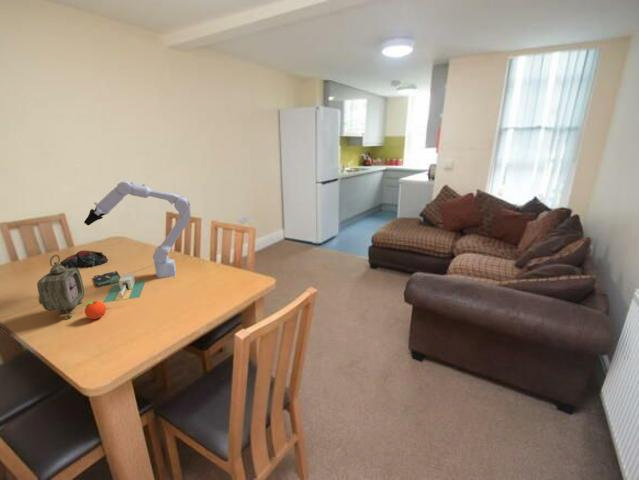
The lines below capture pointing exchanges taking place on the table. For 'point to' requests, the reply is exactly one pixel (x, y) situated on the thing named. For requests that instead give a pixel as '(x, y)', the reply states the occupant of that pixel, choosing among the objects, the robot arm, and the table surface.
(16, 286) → the table surface
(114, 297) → the pin board
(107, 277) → the disk drive
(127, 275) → the block
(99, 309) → the clementine
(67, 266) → the drone shell
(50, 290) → the tabletop clock
